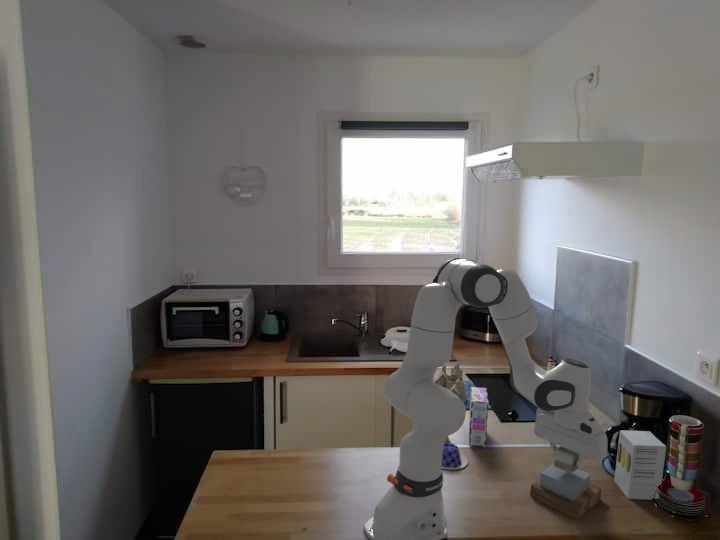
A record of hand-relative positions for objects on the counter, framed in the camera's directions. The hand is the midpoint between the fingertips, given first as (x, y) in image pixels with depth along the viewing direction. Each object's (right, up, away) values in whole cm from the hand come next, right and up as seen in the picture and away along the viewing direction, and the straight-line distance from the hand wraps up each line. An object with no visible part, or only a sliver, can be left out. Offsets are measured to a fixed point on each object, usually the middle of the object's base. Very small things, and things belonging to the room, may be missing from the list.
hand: (567, 461), depth 147 cm
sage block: (0, -2, 0) cm, 2 cm away
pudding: (-30, -8, +21) cm, 38 cm away
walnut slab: (0, -12, +2) cm, 12 cm away
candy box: (-17, -5, +37) cm, 41 cm away
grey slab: (0, -8, +1) cm, 8 cm away
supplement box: (+23, -11, +6) cm, 26 cm away
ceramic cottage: (-22, 0, +71) cm, 75 cm away
